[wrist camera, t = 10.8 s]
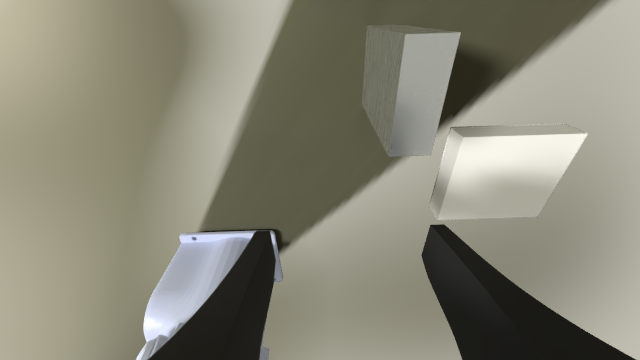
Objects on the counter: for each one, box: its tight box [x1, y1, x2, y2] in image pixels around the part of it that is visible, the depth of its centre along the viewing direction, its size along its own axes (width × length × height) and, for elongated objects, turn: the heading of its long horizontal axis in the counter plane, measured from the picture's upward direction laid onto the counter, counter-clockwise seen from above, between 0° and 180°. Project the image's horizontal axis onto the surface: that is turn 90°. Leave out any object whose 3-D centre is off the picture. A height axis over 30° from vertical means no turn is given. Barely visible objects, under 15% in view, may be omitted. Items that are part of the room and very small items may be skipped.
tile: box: [429, 123, 588, 220], centre depth 21 cm, size 2×8×9 cm
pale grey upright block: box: [362, 24, 461, 157], centre depth 14 cm, size 2×5×8 cm, turn 1°
